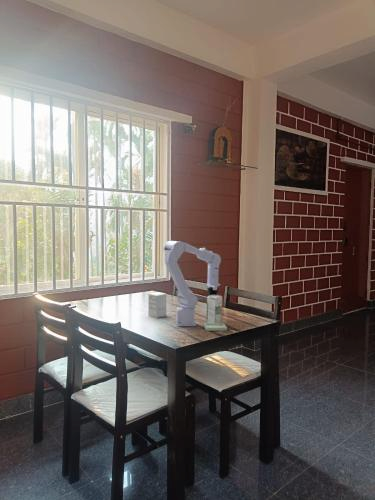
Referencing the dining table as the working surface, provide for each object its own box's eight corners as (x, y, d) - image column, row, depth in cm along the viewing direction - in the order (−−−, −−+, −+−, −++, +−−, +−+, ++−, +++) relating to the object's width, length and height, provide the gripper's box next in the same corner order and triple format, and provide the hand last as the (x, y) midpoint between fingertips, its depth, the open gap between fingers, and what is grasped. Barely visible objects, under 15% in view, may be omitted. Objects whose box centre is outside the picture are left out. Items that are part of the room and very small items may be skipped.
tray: (206, 330, 177) (206, 327, 177) (203, 325, 186) (203, 322, 186) (226, 330, 178) (226, 327, 178) (223, 325, 187) (223, 322, 187)
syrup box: (213, 321, 194) (213, 294, 193) (221, 323, 190) (222, 295, 189) (206, 323, 190) (206, 295, 189) (214, 325, 186) (215, 297, 185)
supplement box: (158, 313, 209) (158, 291, 208) (166, 316, 203) (166, 293, 203) (147, 315, 204) (148, 293, 203) (156, 318, 198) (156, 295, 197)
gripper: (223, 277, 188) (222, 304, 189) (217, 274, 202) (217, 298, 203) (209, 277, 187) (209, 304, 188) (205, 273, 201) (204, 298, 202)
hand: (212, 301), depth 195 cm, fingers closed
